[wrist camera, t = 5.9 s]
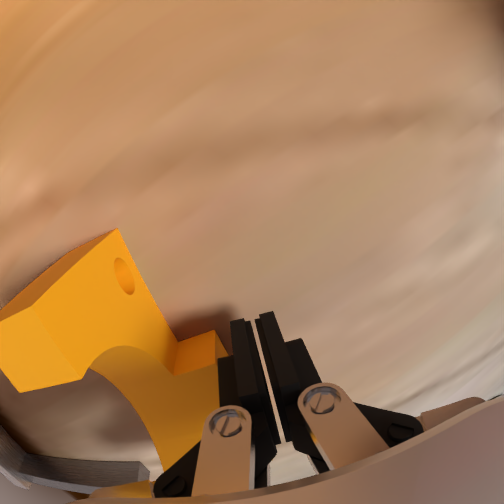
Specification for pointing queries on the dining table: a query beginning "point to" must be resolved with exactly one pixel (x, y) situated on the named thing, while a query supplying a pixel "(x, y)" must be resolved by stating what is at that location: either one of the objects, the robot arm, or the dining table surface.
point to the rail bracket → (64, 470)
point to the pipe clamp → (112, 343)
